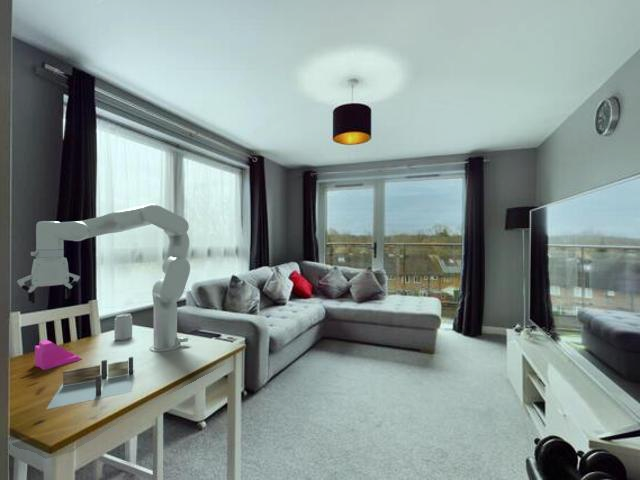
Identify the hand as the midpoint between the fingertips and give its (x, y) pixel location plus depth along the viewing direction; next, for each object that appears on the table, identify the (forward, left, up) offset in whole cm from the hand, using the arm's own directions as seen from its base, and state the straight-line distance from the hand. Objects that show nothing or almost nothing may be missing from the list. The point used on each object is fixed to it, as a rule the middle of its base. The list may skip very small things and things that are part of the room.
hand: (50, 300), depth 111 cm
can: (-20, -34, -27) cm, 48 cm away
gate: (-12, +16, -26) cm, 33 cm away
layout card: (-17, +22, -27) cm, 39 cm away
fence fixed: (-22, +22, -26) cm, 41 cm away
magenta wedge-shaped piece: (0, -11, -27) cm, 29 cm away
